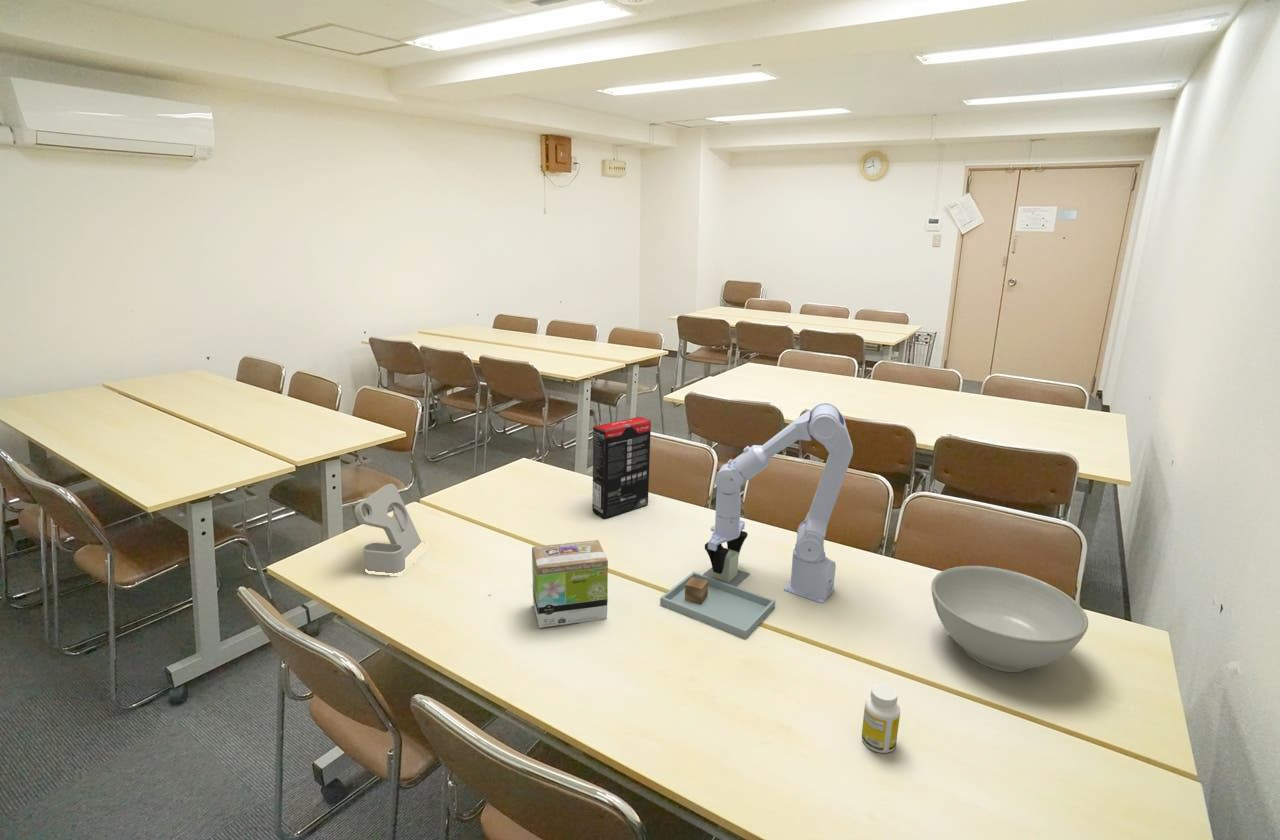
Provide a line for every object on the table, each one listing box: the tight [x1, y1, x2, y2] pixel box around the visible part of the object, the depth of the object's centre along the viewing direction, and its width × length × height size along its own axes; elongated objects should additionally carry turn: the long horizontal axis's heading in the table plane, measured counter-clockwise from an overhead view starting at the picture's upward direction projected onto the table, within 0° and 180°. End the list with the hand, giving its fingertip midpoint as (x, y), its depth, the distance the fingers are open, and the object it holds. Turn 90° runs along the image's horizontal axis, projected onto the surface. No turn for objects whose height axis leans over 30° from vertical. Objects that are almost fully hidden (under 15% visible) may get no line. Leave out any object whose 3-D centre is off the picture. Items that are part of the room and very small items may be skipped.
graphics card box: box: [592, 416, 652, 519], centre depth 192 cm, size 17×7×27 cm, turn 130°
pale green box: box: [712, 546, 740, 582], centre depth 157 cm, size 4×4×6 cm
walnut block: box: [685, 577, 708, 605], centre depth 148 cm, size 4×4×4 cm
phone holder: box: [354, 483, 422, 574], centre depth 163 cm, size 17×10×18 cm, turn 171°
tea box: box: [531, 539, 609, 629], centre depth 141 cm, size 15×10×15 cm, turn 105°
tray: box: [659, 571, 776, 640], centre depth 145 cm, size 21×14×2 cm
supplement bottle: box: [861, 683, 901, 754], centre depth 106 cm, size 5×5×10 cm
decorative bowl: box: [930, 565, 1089, 673], centre depth 129 cm, size 27×27×12 cm
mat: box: [702, 567, 751, 587], centre depth 158 cm, size 9×9×1 cm
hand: (725, 565), depth 157 cm, fingers open, 7 cm apart
